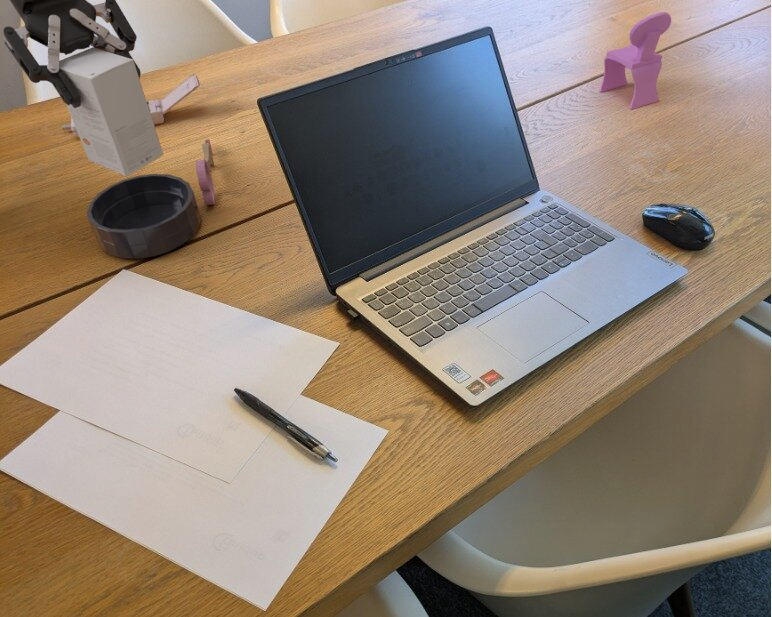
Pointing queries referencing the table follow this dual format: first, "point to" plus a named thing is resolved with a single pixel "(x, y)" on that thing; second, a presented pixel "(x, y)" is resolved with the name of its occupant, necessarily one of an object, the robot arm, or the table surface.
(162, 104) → the mobile phone
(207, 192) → the decorative key
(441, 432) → the table surface
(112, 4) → the robot arm
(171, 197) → the bowl
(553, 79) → the table surface
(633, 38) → the toy chair
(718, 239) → the table surface
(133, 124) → the small box
